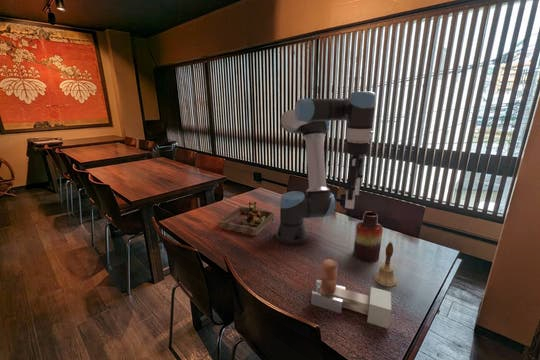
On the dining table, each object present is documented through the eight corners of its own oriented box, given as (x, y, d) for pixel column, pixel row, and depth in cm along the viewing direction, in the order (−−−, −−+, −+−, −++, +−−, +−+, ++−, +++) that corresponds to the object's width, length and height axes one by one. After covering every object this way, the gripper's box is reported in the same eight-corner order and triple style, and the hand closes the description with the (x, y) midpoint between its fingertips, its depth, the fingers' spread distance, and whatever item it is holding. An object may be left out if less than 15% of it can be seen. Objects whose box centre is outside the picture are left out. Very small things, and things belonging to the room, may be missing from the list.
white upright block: (367, 322, 79) (369, 303, 77) (368, 304, 86) (371, 286, 84) (388, 329, 76) (391, 310, 74) (388, 310, 83) (390, 292, 81)
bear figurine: (239, 228, 138) (238, 208, 135) (247, 216, 152) (246, 198, 149) (262, 231, 135) (262, 210, 132) (269, 219, 149) (269, 200, 146)
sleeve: (311, 304, 86) (311, 293, 85) (316, 290, 92) (317, 279, 91) (341, 313, 82) (342, 302, 81) (344, 298, 89) (345, 287, 87)
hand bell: (369, 273, 101) (374, 238, 97) (389, 271, 102) (395, 237, 97) (380, 287, 93) (385, 250, 89) (401, 286, 94) (408, 249, 89)
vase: (366, 265, 106) (372, 221, 100) (348, 252, 115) (352, 211, 109) (384, 258, 111) (390, 216, 105) (365, 246, 120) (369, 207, 114)
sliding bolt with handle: (319, 301, 86) (321, 266, 82) (322, 291, 90) (324, 257, 86) (382, 320, 78) (388, 282, 74) (383, 309, 82) (388, 273, 78)
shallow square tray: (219, 228, 139) (219, 221, 137) (240, 211, 159) (240, 206, 157) (256, 236, 130) (256, 229, 128) (274, 218, 150) (274, 212, 148)
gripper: (366, 148, 71) (359, 217, 77) (373, 136, 92) (366, 191, 99) (339, 146, 74) (334, 212, 80) (351, 135, 95) (347, 188, 102)
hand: (352, 201), depth 89 cm, fingers open, 13 cm apart
